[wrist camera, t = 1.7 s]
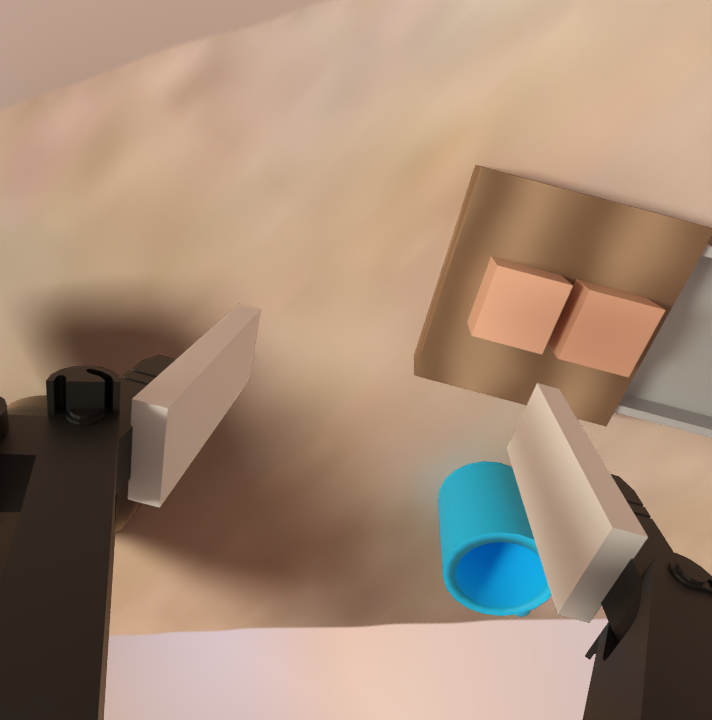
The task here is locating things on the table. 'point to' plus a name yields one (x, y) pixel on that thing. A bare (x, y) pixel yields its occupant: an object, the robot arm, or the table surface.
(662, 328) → the tray
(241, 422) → the table surface
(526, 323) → the tile
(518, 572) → the mug
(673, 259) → the brown square slab
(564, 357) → the tile
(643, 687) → the robot arm
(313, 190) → the table surface
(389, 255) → the table surface
